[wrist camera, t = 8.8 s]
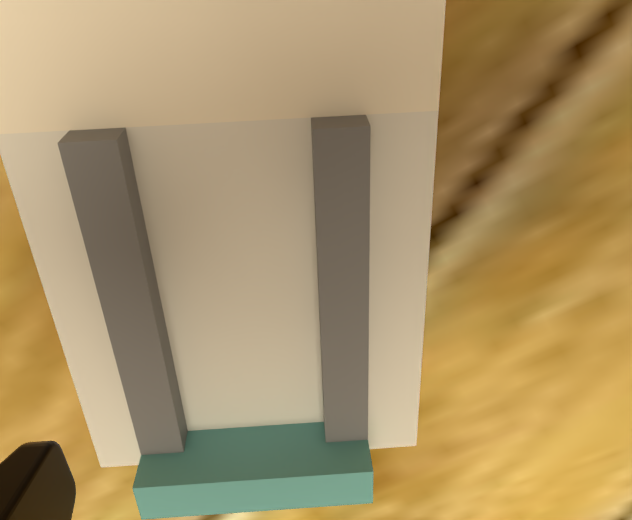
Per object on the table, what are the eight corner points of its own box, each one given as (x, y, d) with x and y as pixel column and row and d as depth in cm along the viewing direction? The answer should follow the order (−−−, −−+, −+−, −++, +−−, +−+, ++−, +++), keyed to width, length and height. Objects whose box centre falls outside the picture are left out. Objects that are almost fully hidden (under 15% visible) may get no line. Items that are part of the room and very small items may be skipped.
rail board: (440, -103, 15) (483, -107, 12) (410, 422, 24) (429, 499, 21) (-50, -82, 14) (-140, -79, 11) (108, 443, 24) (83, 523, 20)
